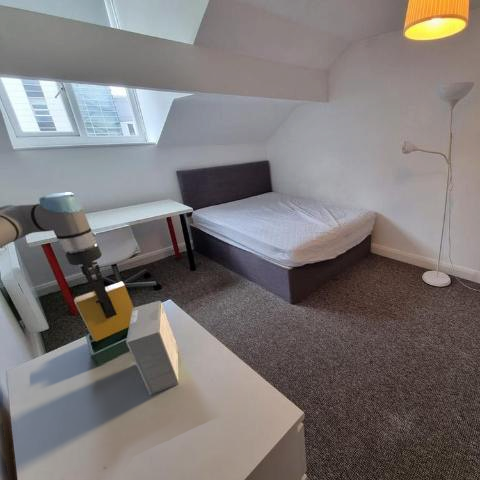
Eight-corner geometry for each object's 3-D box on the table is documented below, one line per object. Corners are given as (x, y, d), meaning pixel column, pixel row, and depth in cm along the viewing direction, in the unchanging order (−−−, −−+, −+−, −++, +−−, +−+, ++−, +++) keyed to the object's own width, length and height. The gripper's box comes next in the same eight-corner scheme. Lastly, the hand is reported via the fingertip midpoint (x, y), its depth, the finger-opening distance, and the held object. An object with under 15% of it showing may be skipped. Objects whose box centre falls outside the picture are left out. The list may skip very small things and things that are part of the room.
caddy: (91, 346, 92) (85, 335, 90) (144, 322, 102) (140, 312, 100) (96, 367, 84) (91, 356, 82) (154, 338, 94) (150, 328, 92)
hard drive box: (152, 357, 87) (132, 307, 78) (178, 348, 90) (161, 299, 82) (149, 396, 74) (125, 342, 66) (179, 384, 77) (160, 331, 69)
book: (92, 336, 86) (73, 298, 79) (136, 317, 93) (122, 281, 87) (94, 342, 83) (74, 303, 77) (139, 322, 91) (124, 285, 85)
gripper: (102, 251, 73) (130, 319, 83) (93, 236, 84) (118, 297, 94) (66, 261, 68) (100, 332, 78) (61, 243, 79) (92, 307, 89)
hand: (110, 313), depth 86 cm, fingers closed on book, 3 cm apart
